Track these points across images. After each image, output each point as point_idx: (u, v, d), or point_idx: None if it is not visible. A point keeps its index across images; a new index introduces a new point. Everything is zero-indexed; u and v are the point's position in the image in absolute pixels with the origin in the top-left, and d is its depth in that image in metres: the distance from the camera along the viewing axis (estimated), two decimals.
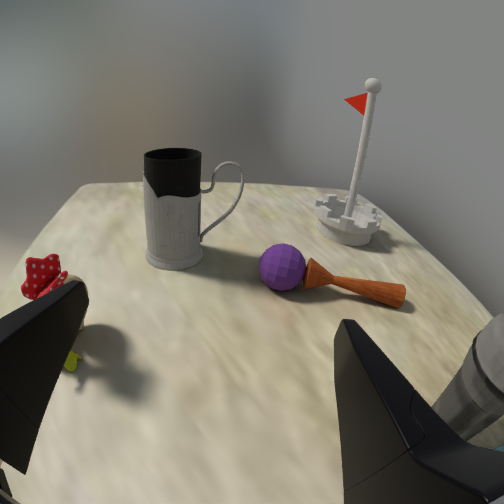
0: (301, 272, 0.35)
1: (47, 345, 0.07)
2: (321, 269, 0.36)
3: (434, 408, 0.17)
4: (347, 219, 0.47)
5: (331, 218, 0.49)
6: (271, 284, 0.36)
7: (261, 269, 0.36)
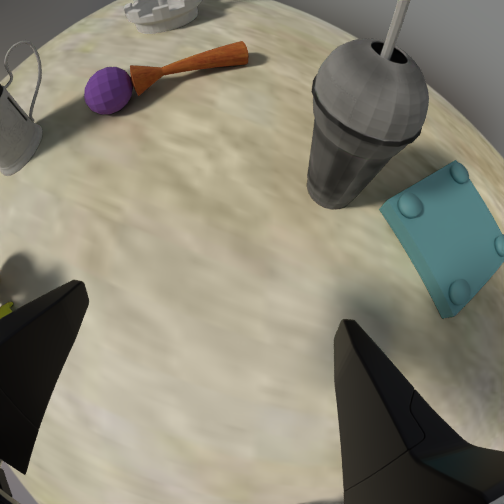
0: (126, 84, 0.26)
1: (47, 345, 0.07)
2: (144, 69, 0.26)
3: (310, 158, 0.21)
4: (160, 8, 0.29)
5: (144, 16, 0.30)
6: (106, 112, 0.27)
7: (89, 106, 0.26)
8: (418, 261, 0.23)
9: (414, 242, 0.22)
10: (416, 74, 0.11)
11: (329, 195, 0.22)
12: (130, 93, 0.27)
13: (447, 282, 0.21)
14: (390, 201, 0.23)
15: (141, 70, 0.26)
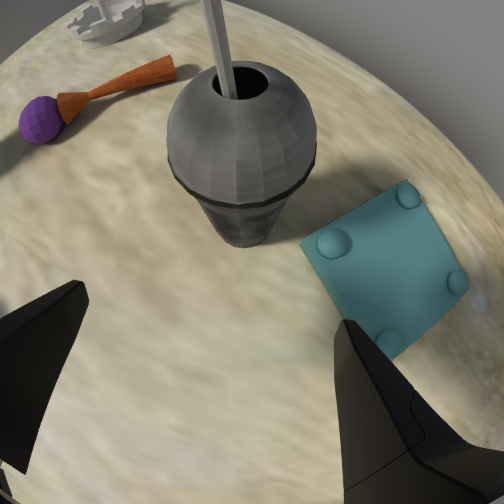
0: (53, 115, 0.24)
1: (47, 345, 0.07)
2: (70, 97, 0.24)
3: None
4: (97, 24, 0.26)
5: (83, 32, 0.27)
6: (38, 143, 0.25)
7: (24, 138, 0.24)
8: (340, 306, 0.22)
9: (333, 287, 0.21)
10: (277, 108, 0.09)
11: (228, 239, 0.21)
12: (59, 122, 0.25)
13: (373, 332, 0.20)
14: (307, 239, 0.22)
15: (67, 98, 0.24)
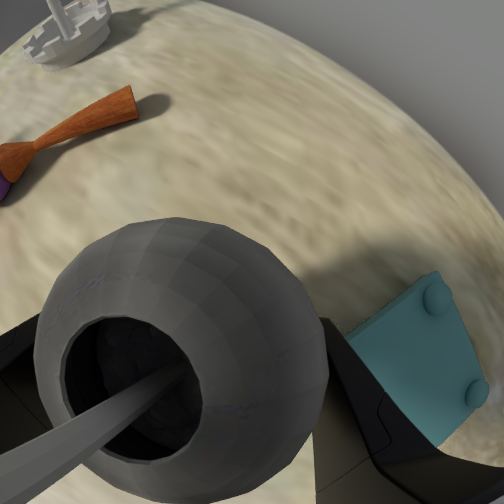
0: None
1: None
2: (13, 151, 0.18)
3: None
4: (50, 44, 0.20)
5: (38, 55, 0.21)
6: None
7: None
8: None
9: None
10: (229, 466, 0.03)
11: None
12: (5, 181, 0.19)
13: None
14: None
15: (9, 153, 0.17)
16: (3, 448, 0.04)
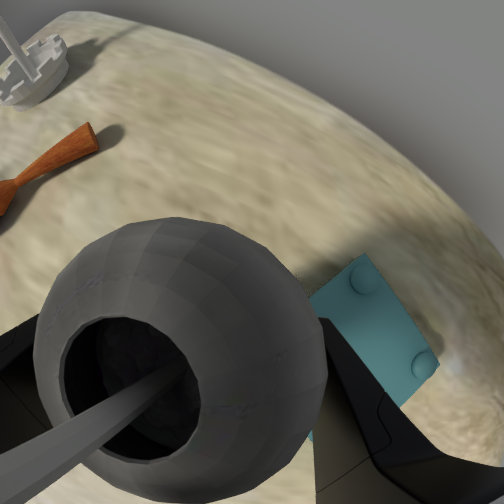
0: None
1: None
2: None
3: None
4: (16, 88, 0.23)
5: (7, 98, 0.24)
6: None
7: None
8: None
9: None
10: (227, 466, 0.03)
11: None
12: None
13: None
14: None
15: None
16: (3, 448, 0.04)
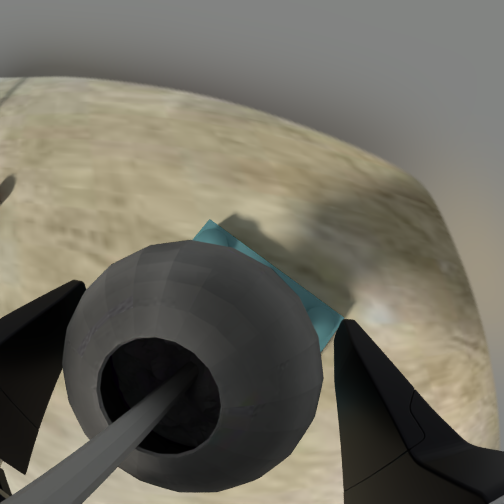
0: None
1: (47, 345, 0.07)
2: None
3: None
4: None
5: None
6: None
7: None
8: None
9: None
10: (241, 456, 0.04)
11: None
12: None
13: None
14: None
15: None
16: None
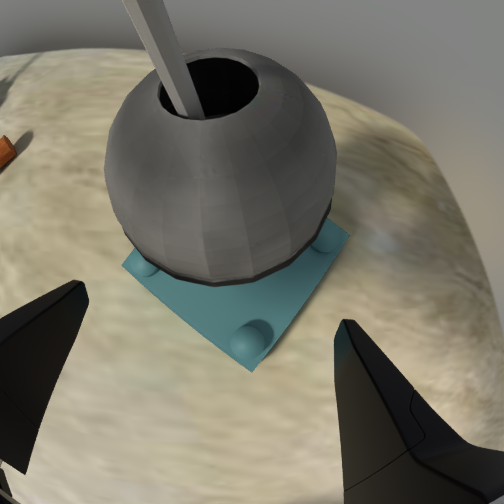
0: None
1: (47, 345, 0.07)
2: None
3: None
4: None
5: None
6: None
7: None
8: None
9: None
10: (275, 132, 0.05)
11: None
12: None
13: (225, 335, 0.19)
14: (125, 265, 0.20)
15: None
16: None
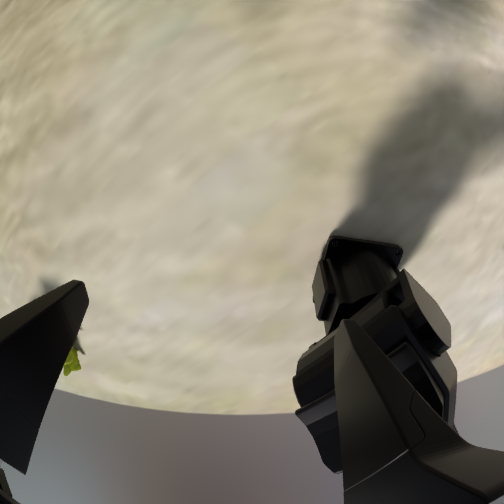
0: None
1: (47, 345, 0.07)
2: None
3: None
4: None
5: None
6: None
7: None
8: None
9: None
10: None
11: None
12: None
13: None
14: None
15: None
16: None
